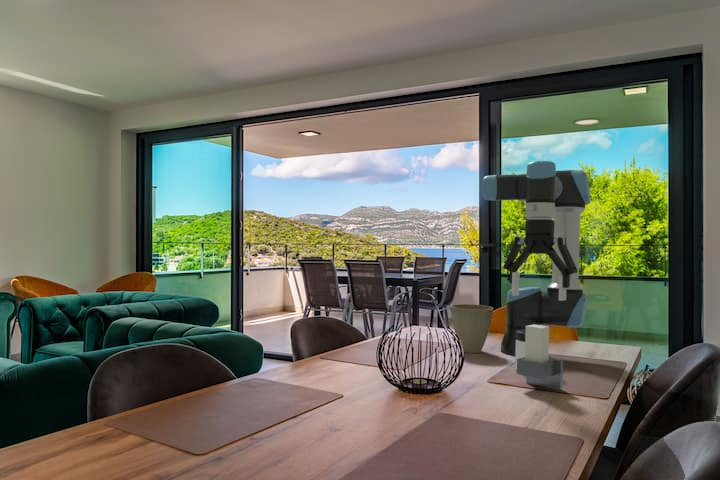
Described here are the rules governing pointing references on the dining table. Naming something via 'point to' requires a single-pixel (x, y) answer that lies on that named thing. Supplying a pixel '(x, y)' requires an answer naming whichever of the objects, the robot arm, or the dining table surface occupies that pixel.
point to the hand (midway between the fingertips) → (538, 297)
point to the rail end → (537, 343)
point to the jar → (519, 345)
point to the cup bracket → (542, 372)
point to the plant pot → (471, 325)
